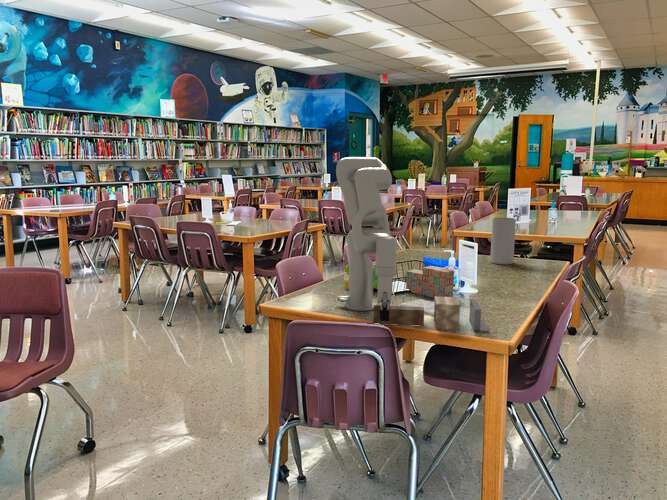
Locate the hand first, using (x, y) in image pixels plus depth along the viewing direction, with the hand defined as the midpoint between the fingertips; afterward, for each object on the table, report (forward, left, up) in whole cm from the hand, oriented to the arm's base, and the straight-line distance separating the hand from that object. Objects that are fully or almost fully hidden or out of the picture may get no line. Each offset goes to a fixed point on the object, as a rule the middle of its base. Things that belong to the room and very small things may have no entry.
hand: (384, 317), depth 211 cm
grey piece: (+33, 0, -2) cm, 33 cm away
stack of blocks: (+18, +46, -2) cm, 50 cm away
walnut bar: (+5, 0, -2) cm, 5 cm away
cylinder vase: (+63, +127, -2) cm, 142 cm away
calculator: (+17, +21, -3) cm, 27 cm away
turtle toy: (-11, +54, -2) cm, 55 cm away
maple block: (+22, 0, -2) cm, 22 cm away
